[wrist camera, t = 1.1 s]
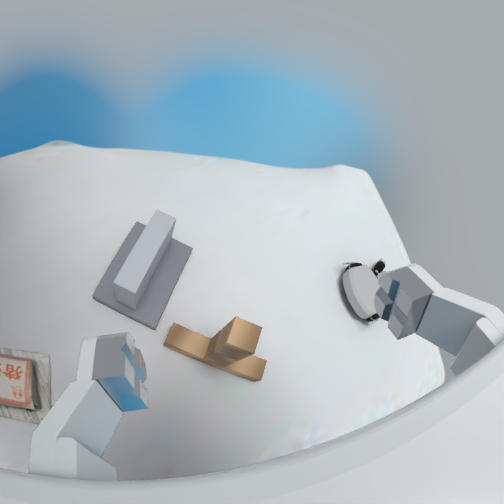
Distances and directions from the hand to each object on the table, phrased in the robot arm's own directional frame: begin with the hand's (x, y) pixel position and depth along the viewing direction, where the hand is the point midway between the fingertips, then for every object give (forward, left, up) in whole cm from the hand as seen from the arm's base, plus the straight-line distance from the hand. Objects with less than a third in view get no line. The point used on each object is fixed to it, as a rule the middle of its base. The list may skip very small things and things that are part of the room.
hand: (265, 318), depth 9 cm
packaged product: (-22, -12, -34) cm, 43 cm away
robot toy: (+30, +28, -34) cm, 53 cm away
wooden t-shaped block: (+5, +6, -34) cm, 34 cm away
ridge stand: (-9, +13, -33) cm, 37 cm away
